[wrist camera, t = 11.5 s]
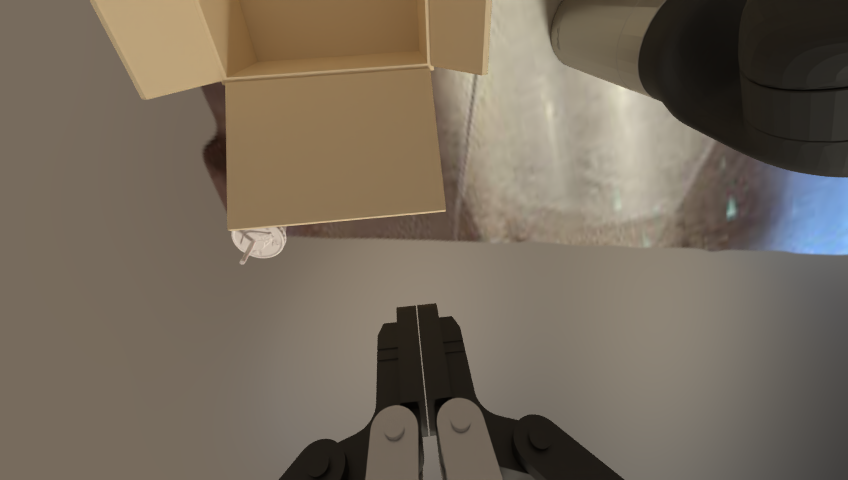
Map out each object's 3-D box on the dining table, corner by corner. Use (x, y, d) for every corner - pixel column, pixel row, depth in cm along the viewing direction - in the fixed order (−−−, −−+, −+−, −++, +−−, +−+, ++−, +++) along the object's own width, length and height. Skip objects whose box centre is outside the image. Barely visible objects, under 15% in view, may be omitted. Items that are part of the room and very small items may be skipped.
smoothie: (245, 189, 48) (203, 248, 37) (286, 176, 47) (255, 232, 36) (270, 224, 52) (238, 287, 41) (307, 212, 51) (286, 273, 40)
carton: (455, -143, 31) (534, -299, 14) (454, 135, 46) (491, 209, 30) (149, -131, 29) (-138, -286, 13) (254, 151, 45) (180, 238, 29)
